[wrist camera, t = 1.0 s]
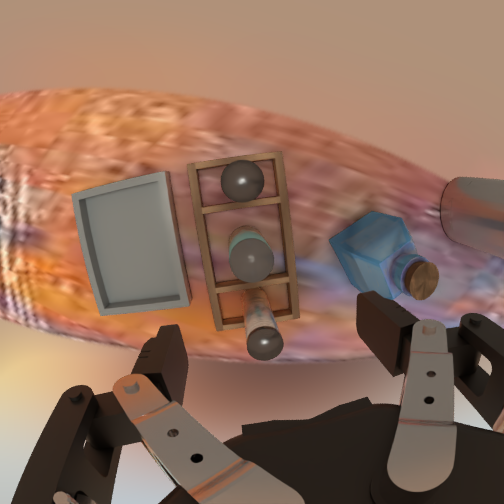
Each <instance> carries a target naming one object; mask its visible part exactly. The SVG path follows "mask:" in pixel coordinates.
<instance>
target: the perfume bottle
mask: <svg viewBox="0 0 504 504" xmlns="http://www.w3.org/2000/svg"><path fill="white" fill-rule="evenodd" d="M329 242H330V244H331V245H332V247H333V249H334V251H335V253H336V255H337V257H338V259H339V260H340V262H341V264H342V266H343V268H344V270H345V272H346V274H347V276H348V278H349V280H350V282H351V284H352V285H353V286H355V287H356V288H357V289H358V290H359V291H360V292H362V293H364V292H368V291H372V290H374V291H376V292H377V293H378V294H380V295H381V296H382V297H384V298H387V299H390V300H393V299H395V298H396V297H397V296H399V295H400V294H401V293H402V292H403V293H404V294H406V295H407V296H412V297H413V298H415V299H416V300H424V299H426V298H428V297H429V296H430V295H431V294H432V293H433V292H434V290H435V289H436V287H437V284H438V279H439V273H438V269H437V267H436V266H435V265H434V264H433V263H430V262H429V261H428V260H427V259H426V258H424V257H422V256H420V255H418V253H417V250H416V248H415V245H414V242H413V239H412V237H411V235H410V233H409V231H408V229H407V227H406V225H405V223H404V221H403V220H402V218H400V217H395V216H391V215H387V214H383V213H378V212H374V211H371V212H370V213H368V214H367V215H365V216H364V217H362V218H361V219H359V220H358V221H356V222H355V223H353V224H352V225H351V226H349V227H348V228H346V229H345V230H343V231H342V232H340V233H338V234H337V235H335V236H334V237H332V238H331V239H329Z"/></svg>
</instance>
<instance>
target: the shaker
mask: <svg viewBox="0 0 504 504" xmlns="http://www.w3.org/2000/svg"><path fill="white" fill-rule="evenodd" d="M229 263H230V267H231V270H232V272H233V273H234V275H235V276H236V277H237V278H238V279H240V280H242V281H244V282H249V283H254V282H258V281H261V280H263V279H265V278H266V277H267V276H268V275H269V274H270V272H271V271H272V268H273V265H274V256H273V253H272V250H271V248H270V247H269V245H268V244H267V242H266V241H265V239H264V238H263V236H262V235H261V233H260V232H259V231H258V230H257V229H255V228H253V227H251V226H242V227H239V228H237V229H236V230H235V231H234V232H233V233H232V234H231V236H230V238H229Z"/></svg>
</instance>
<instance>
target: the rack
mask: <svg viewBox="0 0 504 504" xmlns="http://www.w3.org/2000/svg"><path fill="white" fill-rule="evenodd" d="M237 160H248V161H251V162H255V161H263V160H273V167H274V175H275V182H276V190H277V196H274V197H266V198H258V199H254V200H252V201H249V202H244V203H241V202H230V203H224V204H217V205H211V206H205V207H203V203H202V197H201V190H200V183H199V176H198V170H200V169H206V168H212V167H218V166H225V165H229V164H230V163H232V162H234V161H237ZM187 169H188V176H189V183H190V190H191V196H192V203H193V209H194V215H195V221H196V227H197V233H198V239H199V245H200V251H201V256H202V262H203V267H204V272H205V277H206V283H207V288H208V293H209V298H210V303H211V308H212V312H213V317H214V322H215V326H216V331H223V330H230V329H237V328H244V327H245V323H244V316H243V317H236V318H230V319H223V317H222V312H221V307H220V302H219V297H218V293H224V292H230V291H237V290H244V289H250V288H256V287H263V286H269V285H275V284H281V283H287V287H288V297H289V308H290V309H286V310H280V311H274V312H272V313H273V315H274V318H275V321H276V322H281V321H286V320H292V319H297V318H300V312H299V300H298V288H297V276H296V266H295V255H294V245H293V236H292V226H291V217H290V209H289V200H288V192H287V184H286V176H285V169H284V161H283V154H282V151H280V152H270V153H261V154H252V155H244V156H237V157H230V158H223V159H216V160H210V161H204V162H198V163H192V164H187ZM275 203H278V206H279V214H280V222H281V231H282V240H283V249H284V258H285V267H286V272H285V273H279V274H273V275H268V276H267V277H266V278H265V279H263V280H261V281H258V282H254V283H249V282H244V281H242V280H234V281H227V282H221V283H216V281H215V275H214V269H213V264H212V258H211V252H210V247H209V241H208V235H207V229H206V223H205V216H204V214H206V213H212V212H219V211H225V210H232V209H239V208H246V207H253V206H260V205H267V204H275Z"/></svg>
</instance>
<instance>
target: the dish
mask: <svg viewBox="0 0 504 504" xmlns="http://www.w3.org/2000/svg"><path fill="white" fill-rule="evenodd" d="M72 201H73V207H74V213H75V218H76V224H77V229H78V234H79V239H80V243H81V248H82V252H83V256H84V260H85V264H86V268H87V272H88V276H89V280H90V283H91V287H92V290H93V293H94V297H95V300H96V303H97V306H98V309H99V312H100V315H101V316H106V315H116V314H126V313H136V312H145V311H154V310H163V309H171V308H179V307H187V306H190V303H191V300H192V295H191V291H190V286H189V281H188V277H187V272H186V267H185V262H184V257H183V252H182V246H181V241H180V236H179V230H178V224H177V219H176V213H175V207H174V200H173V194H172V187H171V180H170V173H169V172H167V171H163V172H158V173H153V174H148V175H144V176H139V177H135V178H131V179H126V180H122V181H118V182H114V183H110V184H106V185H102V186H99V187H95V188H91V189H88V190H84V191H81V192H77V193H74V194H72Z"/></svg>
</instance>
